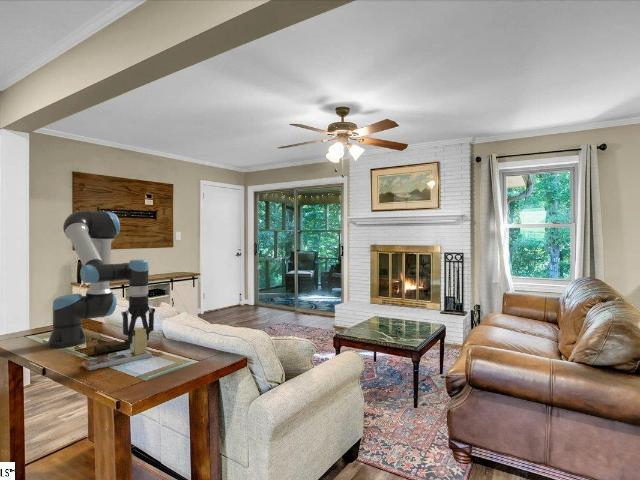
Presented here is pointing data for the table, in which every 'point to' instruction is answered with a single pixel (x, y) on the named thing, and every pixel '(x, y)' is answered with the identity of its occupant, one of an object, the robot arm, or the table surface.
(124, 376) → the table surface
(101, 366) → the triple square frame
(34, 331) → the table surface
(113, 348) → the hand tool
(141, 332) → the brass post
